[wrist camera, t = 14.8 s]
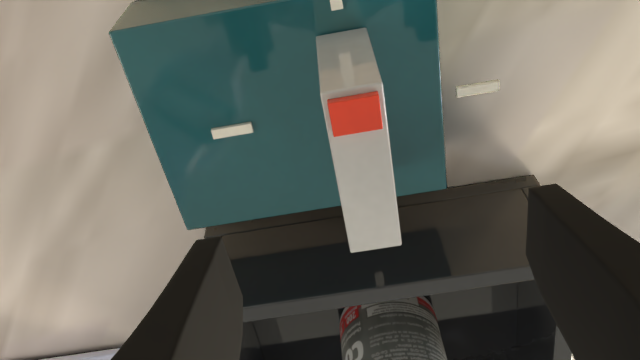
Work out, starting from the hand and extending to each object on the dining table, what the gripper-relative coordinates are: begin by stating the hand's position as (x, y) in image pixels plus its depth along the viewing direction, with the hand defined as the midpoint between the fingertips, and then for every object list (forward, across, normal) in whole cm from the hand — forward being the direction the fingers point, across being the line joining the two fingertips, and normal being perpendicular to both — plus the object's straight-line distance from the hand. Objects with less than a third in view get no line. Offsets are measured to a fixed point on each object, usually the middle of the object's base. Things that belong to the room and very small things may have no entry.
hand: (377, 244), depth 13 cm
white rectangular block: (+7, 0, 0) cm, 7 cm away
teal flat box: (+10, +2, 0) cm, 10 cm away
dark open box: (+10, 0, +13) cm, 16 cm away
